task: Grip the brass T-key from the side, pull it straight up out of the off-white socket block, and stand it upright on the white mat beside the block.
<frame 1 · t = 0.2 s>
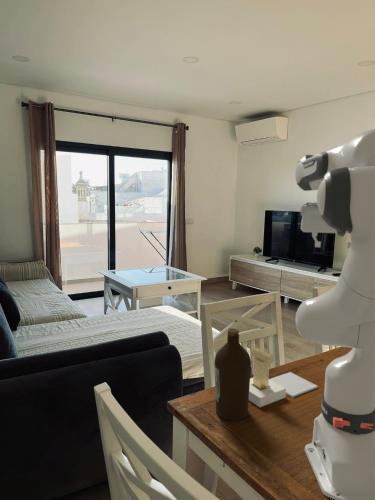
hand: (333, 247, 111), 48 cm above the table, tool pointing down, fingers open, 8 cm apart
white mat: (291, 384, 123), on the table
t key: (261, 373, 115), in the socket block
socket block: (260, 394, 116), on the table
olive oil: (231, 412, 106), on the table
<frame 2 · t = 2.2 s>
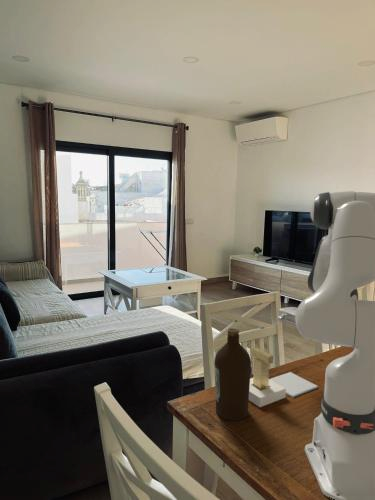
hand: (289, 323, 120), 22 cm above the table, tool horizontal, fingers open, 8 cm apart
nothing on the table moved.
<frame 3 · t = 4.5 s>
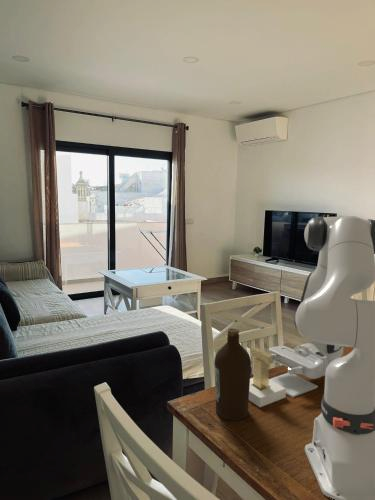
hand: (278, 366, 119), 8 cm above the table, tool horizontal, fingers open, 8 cm apart
nothing on the table moved.
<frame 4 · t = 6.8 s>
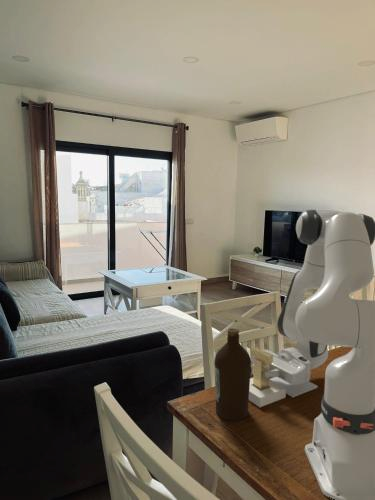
hand: (259, 371, 115), 8 cm above the table, tool horizontal, fingers closed on t key, 3 cm apart
t key: (261, 373, 115), in the socket block, touching gripper
everything else where it was.
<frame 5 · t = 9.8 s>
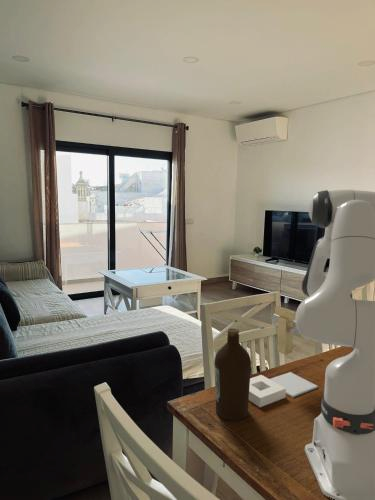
hand: (283, 329, 118), 20 cm above the table, tool horizontal, fingers closed on t key, 3 cm apart
t key: (285, 330, 119), point 20 cm above the table, touching gripper
everything else where it was.
when the fingers open (10 cm above the table, at t = 12.8 s): t key stays where it is, resting on white mat.
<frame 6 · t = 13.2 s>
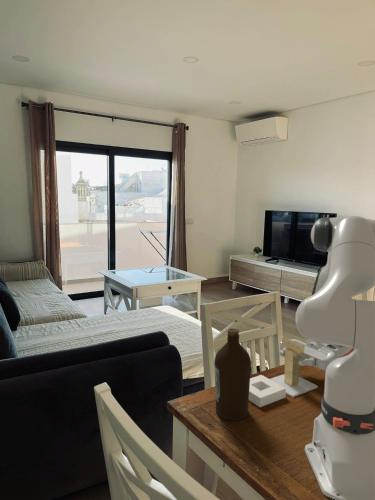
hand: (290, 358, 121), 10 cm above the table, tool horizontal, fingers open, 7 cm apart
t key: (292, 362, 122), on the white mat, point 8 cm above the table
everything else where it was.
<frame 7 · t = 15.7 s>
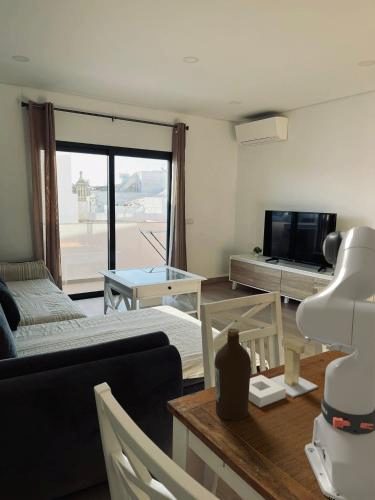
hand: (316, 343, 127), 12 cm above the table, tool horizontal, fingers open, 8 cm apart
nothing on the table moved.
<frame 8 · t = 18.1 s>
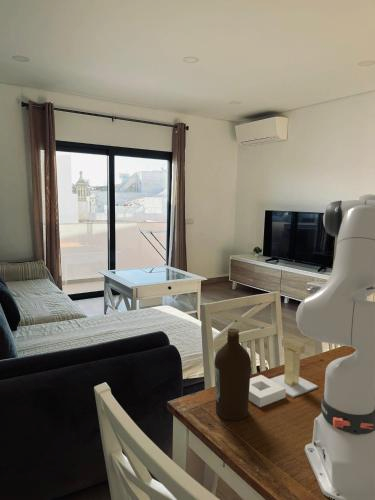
hand: (318, 294, 125), 30 cm above the table, tool horizontal, fingers open, 8 cm apart
nothing on the table moved.
at the end: t key inside the target area on the white mat (0.0 cm from its centre), point 7.8 cm above the white mat's base; t key tilted 0°; the gripper is holding nothing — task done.
